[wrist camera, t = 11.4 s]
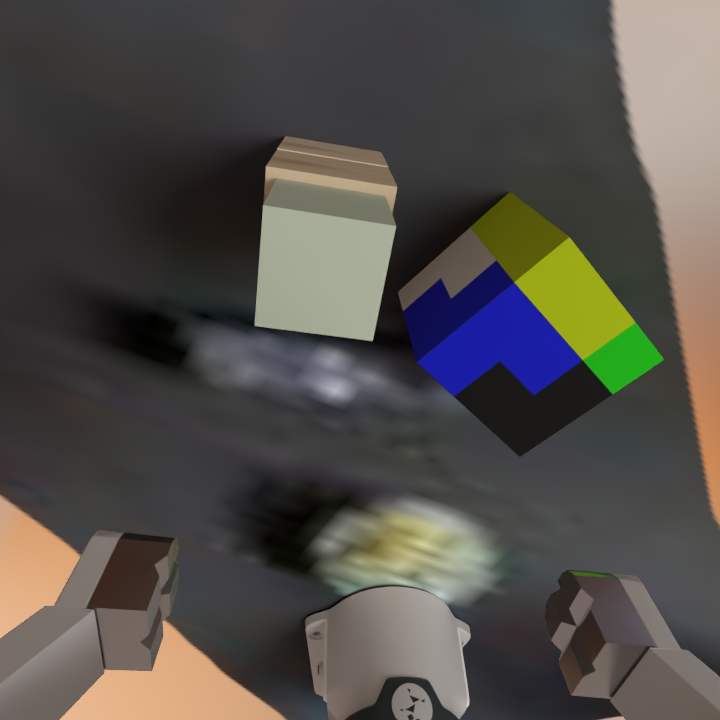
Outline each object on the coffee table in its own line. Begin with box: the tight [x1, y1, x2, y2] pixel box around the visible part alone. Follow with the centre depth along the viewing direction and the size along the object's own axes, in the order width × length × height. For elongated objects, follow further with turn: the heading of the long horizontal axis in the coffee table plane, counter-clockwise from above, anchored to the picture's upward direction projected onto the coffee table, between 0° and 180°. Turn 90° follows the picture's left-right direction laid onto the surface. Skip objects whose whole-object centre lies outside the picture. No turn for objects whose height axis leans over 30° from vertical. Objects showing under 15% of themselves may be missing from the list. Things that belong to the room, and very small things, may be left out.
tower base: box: [277, 136, 388, 167], centre depth 31 cm, size 6×6×5 cm
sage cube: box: [255, 178, 396, 341], centre depth 22 cm, size 5×5×5 cm
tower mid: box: [264, 149, 397, 213], centre depth 27 cm, size 6×6×5 cm
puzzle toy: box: [398, 192, 664, 456], centre depth 33 cm, size 10×10×10 cm
